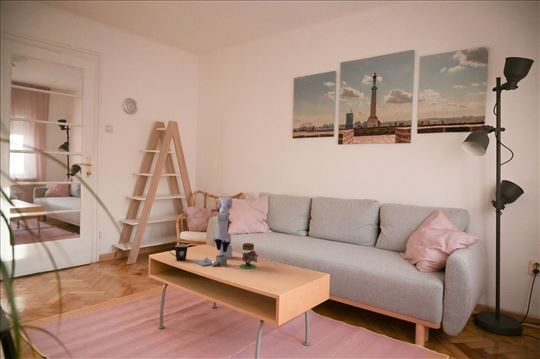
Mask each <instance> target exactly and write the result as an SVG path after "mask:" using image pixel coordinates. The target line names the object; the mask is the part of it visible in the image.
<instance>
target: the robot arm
mask: <svg viewBox="0 0 540 359" xmlns="http://www.w3.org/2000/svg"><path fill="white" fill-rule="evenodd" d="M218 207H219V213H218V214H217V225H218V226H217V228H218V229H217V235H214V236H215V239H214V243H215V246H216V249H217V251H218V255H225V256H227V259H231V258H233V247H232V244H231V243H232V235H231V233H230V232H229V231H228V228H229V226H228V225H229V224H228V223H229V222H228V221H229V211H230V210H231V209H232V208H233V197H232V196H230V197H229V196H219V197H218Z"/></svg>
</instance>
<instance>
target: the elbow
mask: <svg viewBox="0 0 540 359" xmlns="http://www.w3.org/2000/svg"><path fill="white" fill-rule="evenodd" d="M212 261H213V262H211V265H210V266H211V267H216V266H218V267H225V266H228V258H227V256H225V255H219V254H217V255H215V260H212Z"/></svg>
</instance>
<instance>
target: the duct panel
mask: <svg viewBox="0 0 540 359" xmlns="http://www.w3.org/2000/svg"><path fill="white" fill-rule="evenodd" d="M213 261H214V260H212V259H209V258H208V256H204V257H203V259H199V260H193V263H195V264H196V265H199V266H200V265H201V266H200V267H208V266H212V265H211V262H213Z"/></svg>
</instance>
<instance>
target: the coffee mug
mask: <svg viewBox="0 0 540 359" xmlns="http://www.w3.org/2000/svg"><path fill="white" fill-rule="evenodd" d="M188 247H189V245H188V244H181V243H179V244H176V245H175V246H174V247H171V248H169V253H170V254H171V255H173V256H174V257H175V260H176V261H177V262H185V261H186V260H187V253H188ZM172 249H173V250H174V251H175V254H174V253H173V252H171V250H172Z"/></svg>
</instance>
